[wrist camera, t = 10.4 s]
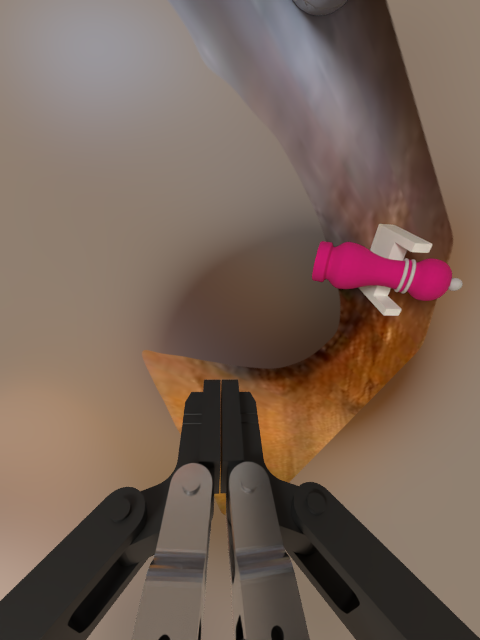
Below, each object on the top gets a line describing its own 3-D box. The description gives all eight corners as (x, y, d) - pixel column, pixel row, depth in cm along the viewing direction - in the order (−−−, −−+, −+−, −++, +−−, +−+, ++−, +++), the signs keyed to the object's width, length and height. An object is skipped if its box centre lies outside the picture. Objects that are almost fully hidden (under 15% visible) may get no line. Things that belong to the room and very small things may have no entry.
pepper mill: (311, 288, 46) (444, 315, 40) (310, 273, 39) (471, 303, 33) (321, 250, 47) (453, 271, 41) (322, 229, 40) (481, 250, 34)
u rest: (379, 223, 43) (415, 243, 35) (393, 224, 44) (432, 244, 36) (357, 286, 50) (383, 315, 42) (370, 287, 50) (398, 315, 42)
